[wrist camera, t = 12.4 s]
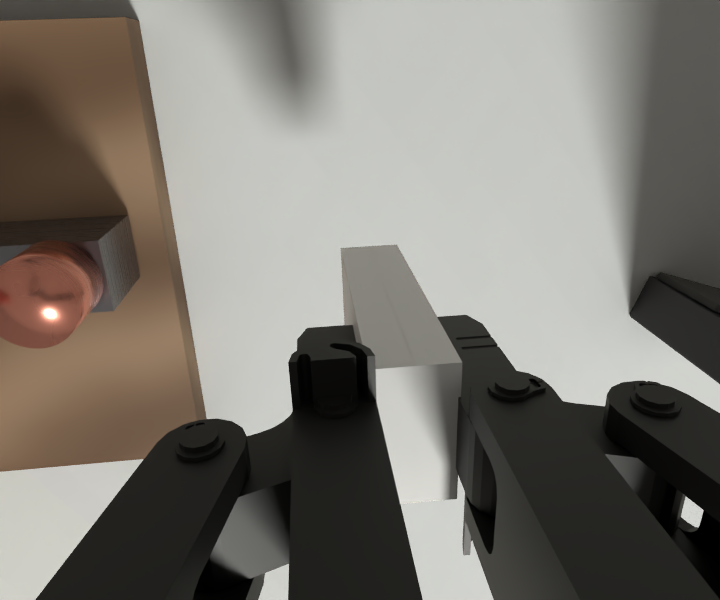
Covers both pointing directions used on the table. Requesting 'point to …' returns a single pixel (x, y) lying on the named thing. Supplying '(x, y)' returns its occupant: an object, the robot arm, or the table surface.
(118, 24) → the mount plate
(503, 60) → the table surface
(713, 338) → the picture frame
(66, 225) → the pin
